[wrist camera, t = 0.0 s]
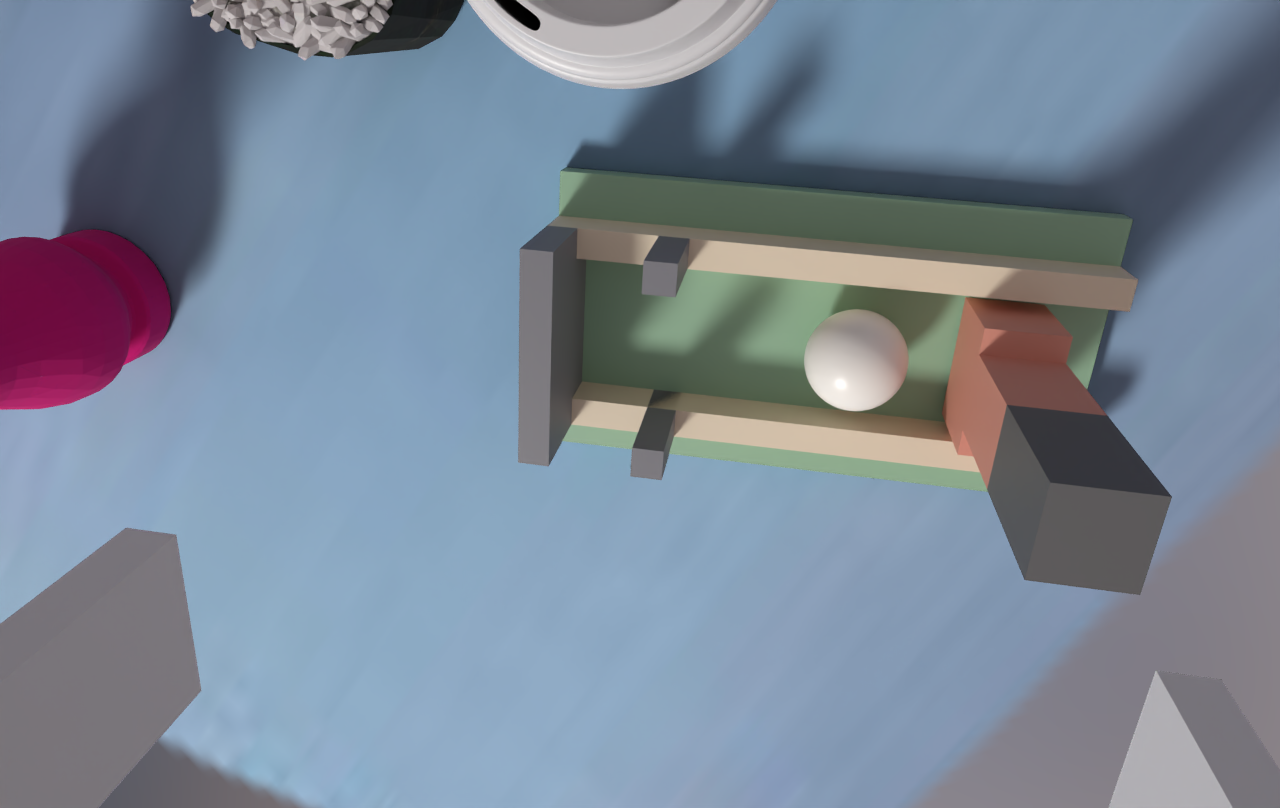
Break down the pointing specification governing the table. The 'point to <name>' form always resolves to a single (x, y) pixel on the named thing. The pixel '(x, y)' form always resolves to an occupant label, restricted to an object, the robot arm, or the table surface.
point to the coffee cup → (621, 36)
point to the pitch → (779, 316)
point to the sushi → (332, 23)
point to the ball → (856, 360)
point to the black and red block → (1050, 452)
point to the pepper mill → (74, 315)
